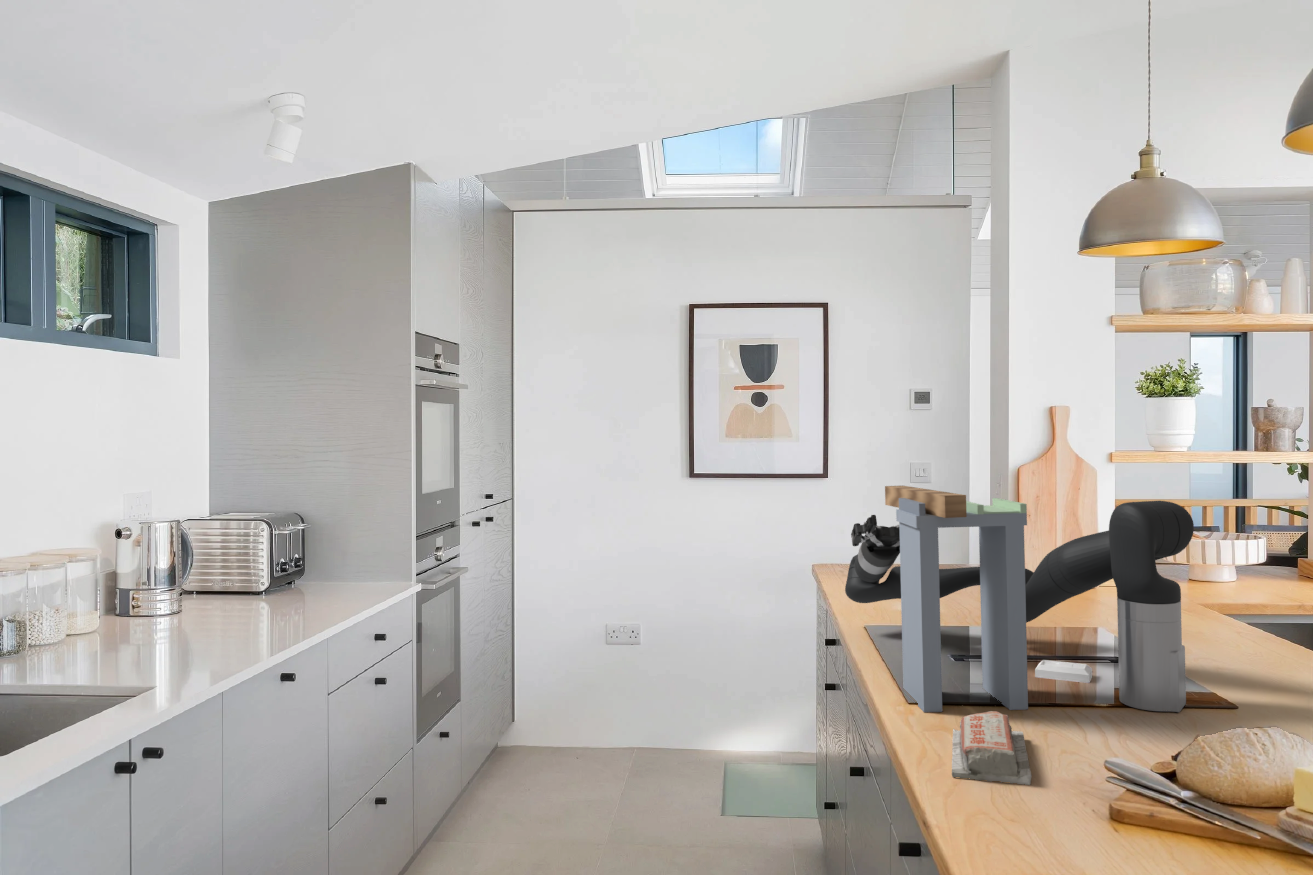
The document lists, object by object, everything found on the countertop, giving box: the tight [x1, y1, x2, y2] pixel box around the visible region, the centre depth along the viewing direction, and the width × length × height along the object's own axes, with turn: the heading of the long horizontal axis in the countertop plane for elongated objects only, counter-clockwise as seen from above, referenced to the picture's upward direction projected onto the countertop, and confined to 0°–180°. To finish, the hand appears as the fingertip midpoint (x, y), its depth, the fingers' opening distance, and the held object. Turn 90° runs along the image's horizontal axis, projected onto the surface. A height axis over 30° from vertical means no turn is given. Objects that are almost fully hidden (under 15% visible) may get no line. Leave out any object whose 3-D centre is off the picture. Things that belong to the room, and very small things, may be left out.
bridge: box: [895, 497, 1029, 713], centre depth 152 cm, size 12×18×34 cm, turn 90°
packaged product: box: [951, 710, 1032, 786], centre depth 126 cm, size 18×5×10 cm
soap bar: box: [1034, 659, 1093, 684], centre depth 165 cm, size 5×9×3 cm, turn 59°
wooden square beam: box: [884, 485, 967, 518], centre depth 155 cm, size 26×4×4 cm, turn 6°
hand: (896, 518), depth 173 cm, fingers open, 8 cm apart
